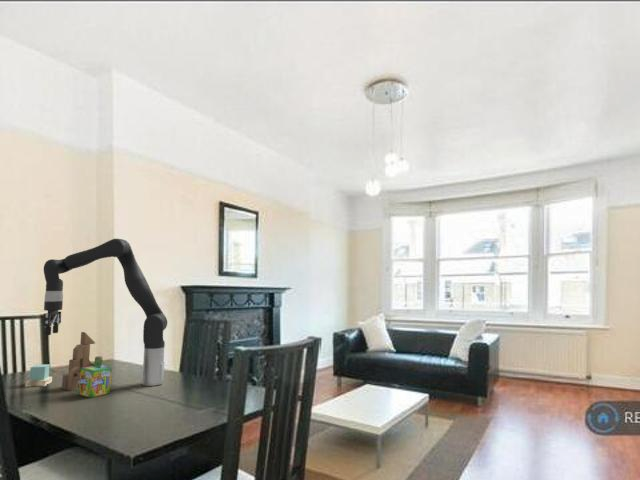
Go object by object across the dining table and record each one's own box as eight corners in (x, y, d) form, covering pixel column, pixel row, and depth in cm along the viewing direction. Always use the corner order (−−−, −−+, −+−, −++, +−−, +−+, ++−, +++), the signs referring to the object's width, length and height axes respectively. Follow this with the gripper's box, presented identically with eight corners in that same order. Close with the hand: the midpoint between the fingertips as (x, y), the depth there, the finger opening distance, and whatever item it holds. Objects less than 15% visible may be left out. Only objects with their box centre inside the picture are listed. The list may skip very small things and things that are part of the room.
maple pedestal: (51, 382, 198) (52, 376, 199) (44, 387, 191) (45, 380, 191) (33, 383, 197) (33, 377, 197) (25, 387, 189) (25, 381, 189)
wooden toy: (70, 391, 183) (74, 334, 185) (61, 389, 186) (65, 333, 188) (102, 383, 197) (105, 330, 199) (93, 382, 200) (96, 330, 202)
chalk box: (77, 395, 177) (80, 360, 178) (98, 390, 185) (100, 357, 186) (90, 398, 172) (93, 362, 174) (110, 393, 180) (113, 359, 182)
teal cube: (48, 376, 198) (49, 364, 198) (44, 379, 192) (45, 366, 193) (34, 377, 196) (35, 364, 197) (29, 380, 190) (30, 367, 191)
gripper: (56, 300, 194) (54, 335, 192) (67, 299, 207) (65, 332, 206) (38, 301, 192) (36, 336, 190) (51, 299, 206) (49, 332, 204)
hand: (51, 334), depth 198 cm, fingers open, 8 cm apart
